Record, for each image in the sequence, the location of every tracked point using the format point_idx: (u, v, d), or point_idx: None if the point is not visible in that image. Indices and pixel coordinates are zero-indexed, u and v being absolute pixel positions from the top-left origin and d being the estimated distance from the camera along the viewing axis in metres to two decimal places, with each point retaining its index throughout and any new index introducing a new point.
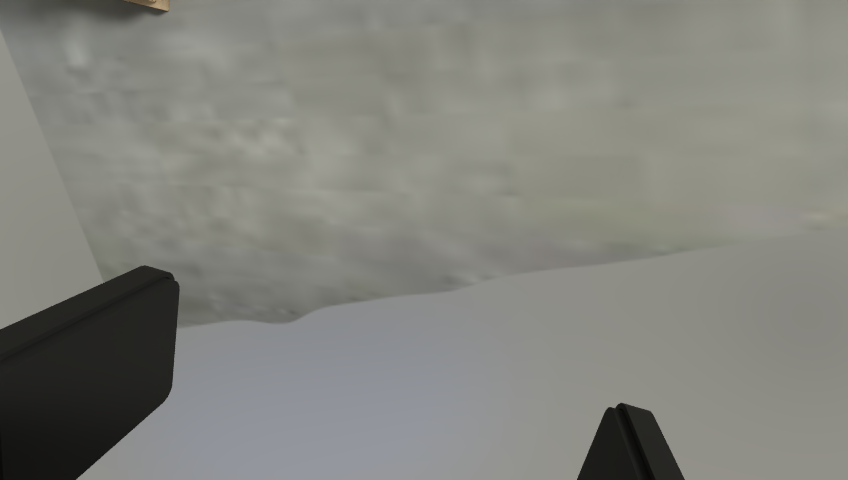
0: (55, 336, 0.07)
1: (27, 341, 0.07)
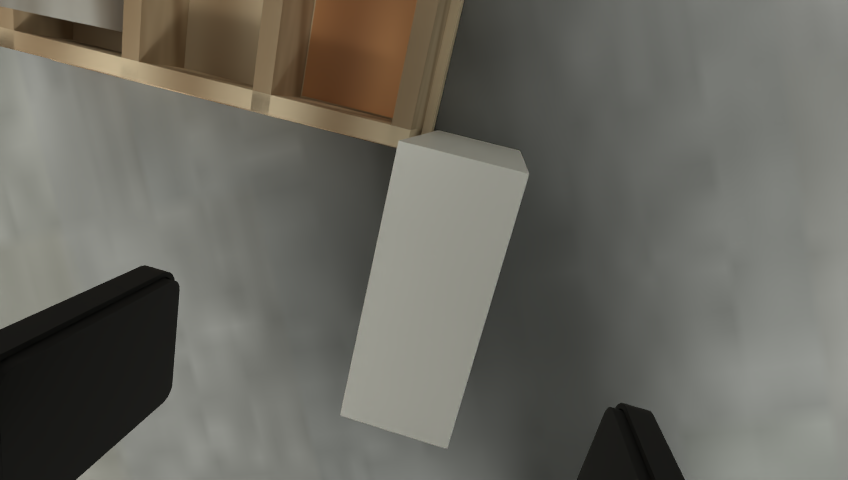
0: (55, 336, 0.07)
1: (27, 341, 0.07)
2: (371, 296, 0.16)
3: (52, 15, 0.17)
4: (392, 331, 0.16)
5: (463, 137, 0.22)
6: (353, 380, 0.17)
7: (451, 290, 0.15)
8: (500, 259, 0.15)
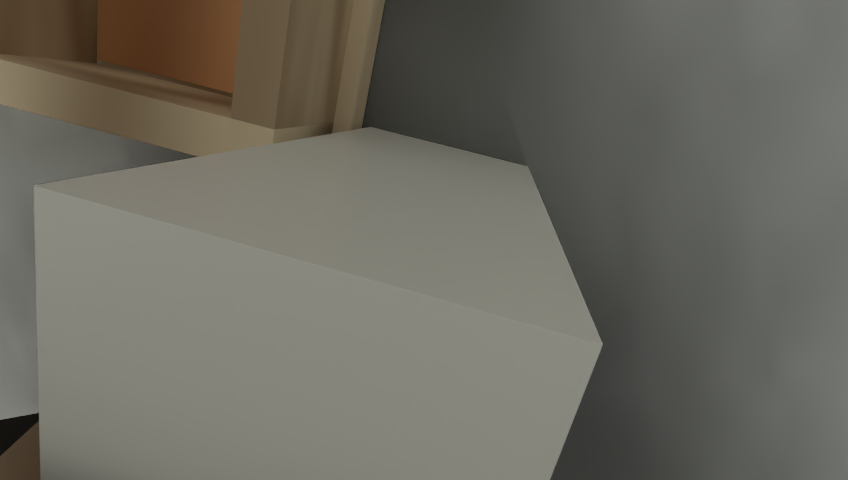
0: None
1: None
2: None
3: None
4: None
5: (415, 141, 0.11)
6: None
7: None
8: None
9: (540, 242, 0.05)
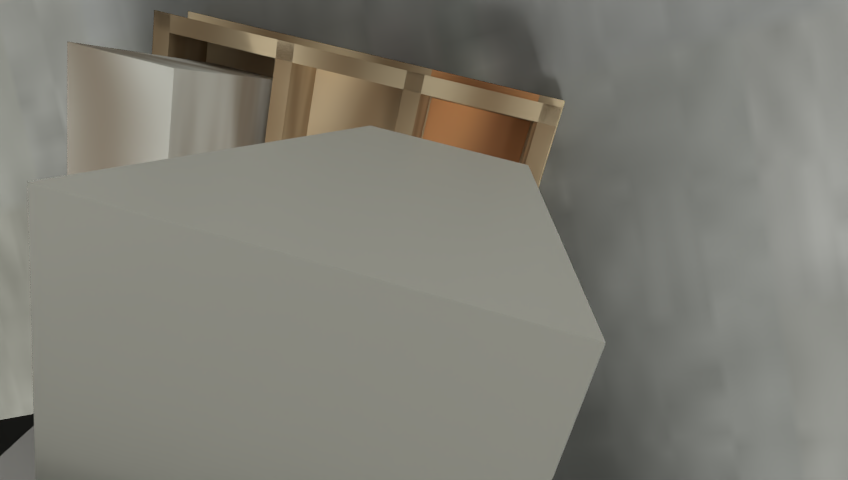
0: None
1: None
2: None
3: None
4: None
5: (415, 140, 0.11)
6: None
7: None
8: None
9: (541, 240, 0.05)
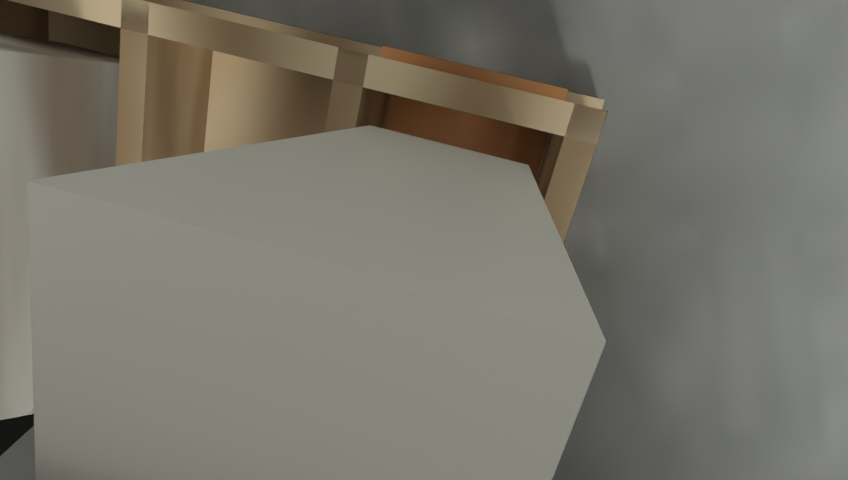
0: None
1: None
2: None
3: None
4: None
5: (415, 140, 0.11)
6: None
7: None
8: None
9: (541, 239, 0.05)
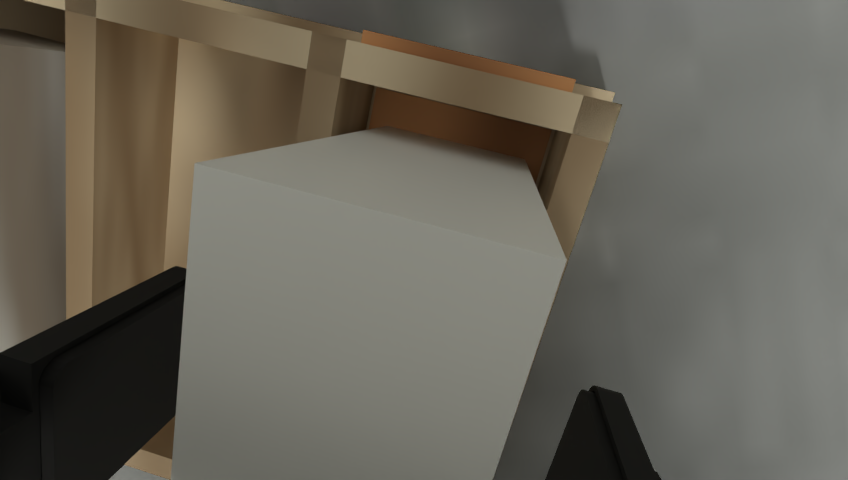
0: (102, 334, 0.07)
1: (77, 339, 0.07)
2: None
3: None
4: None
5: (427, 138, 0.13)
6: None
7: None
8: (484, 473, 0.06)
9: (530, 209, 0.07)
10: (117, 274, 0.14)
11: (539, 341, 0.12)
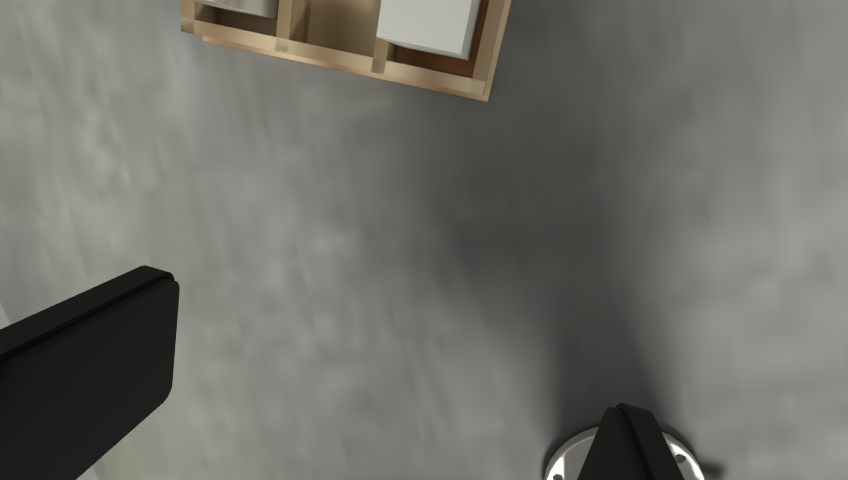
0: (55, 336, 0.07)
1: (27, 341, 0.07)
2: None
3: (246, 9, 0.26)
4: None
5: None
6: (386, 0, 0.21)
7: None
8: None
9: None
10: None
11: None
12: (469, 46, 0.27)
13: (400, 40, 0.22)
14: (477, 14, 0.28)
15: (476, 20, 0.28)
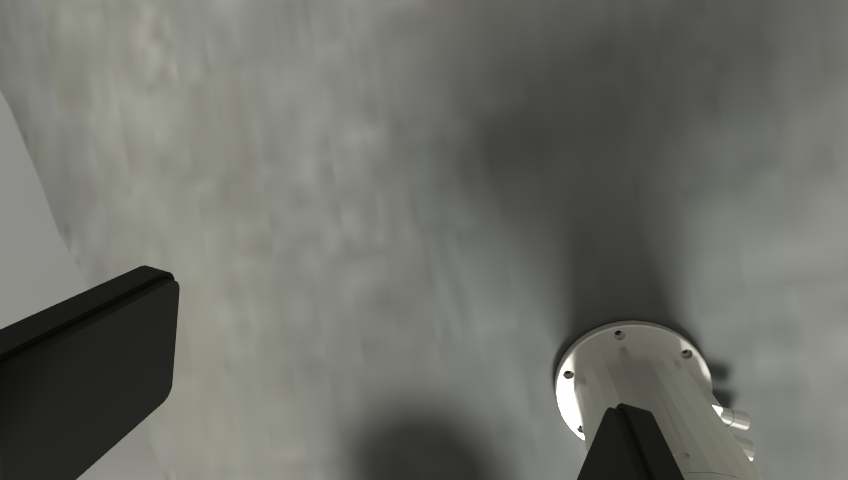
0: (55, 336, 0.07)
1: (27, 341, 0.07)
2: None
3: None
4: None
5: None
6: None
7: None
8: None
9: None
10: None
11: None
12: None
13: None
14: None
15: None
